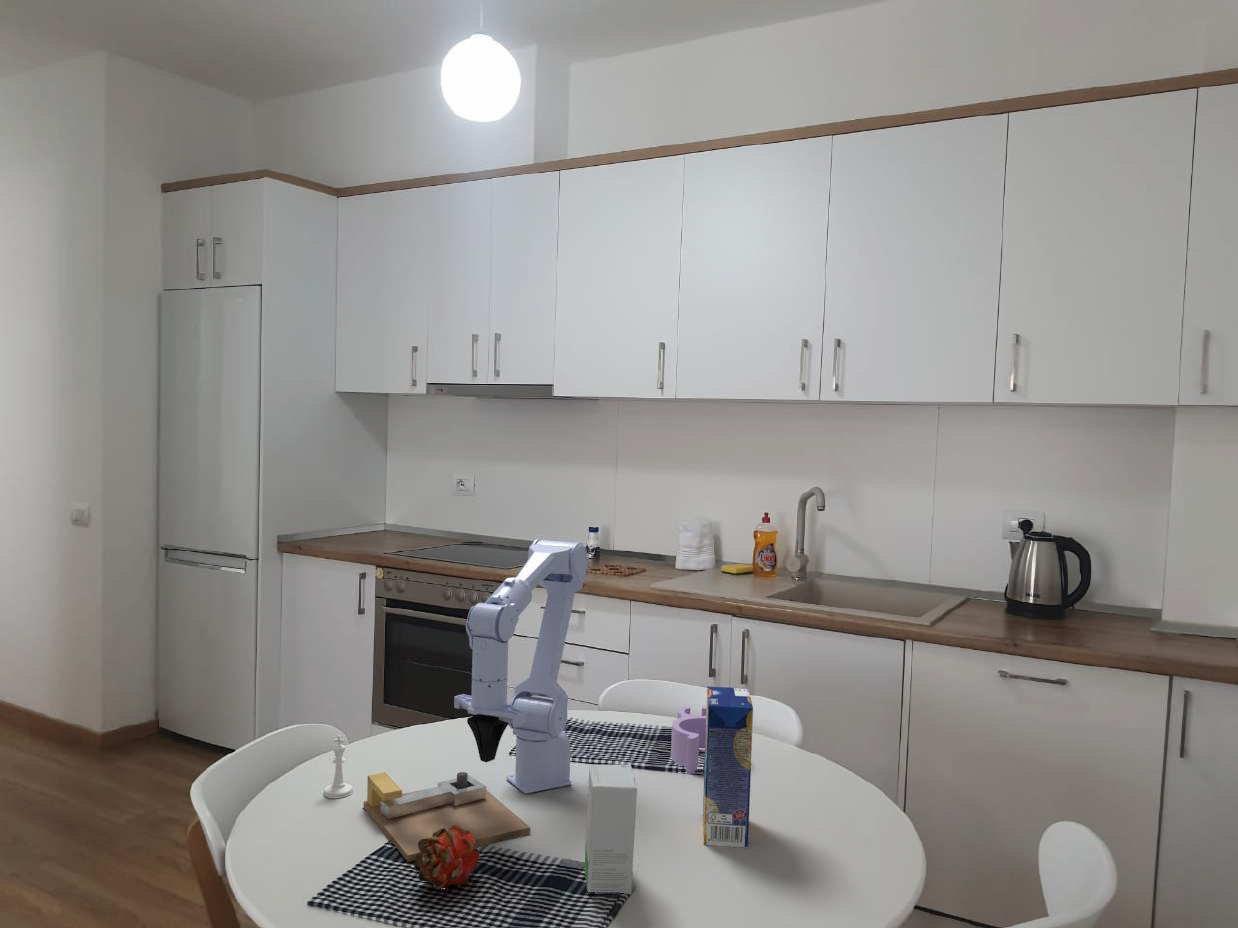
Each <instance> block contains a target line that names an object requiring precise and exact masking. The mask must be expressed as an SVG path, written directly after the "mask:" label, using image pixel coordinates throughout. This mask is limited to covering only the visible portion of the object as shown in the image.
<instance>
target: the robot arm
mask: <svg viewBox="0 0 1238 928" xmlns="http://www.w3.org/2000/svg"><path fill="white" fill-rule="evenodd" d="M527 552H528V555H527V561H526V562H525V564H524V565H523V567H522V569H520V571H519V572H518V574H517V575H516V576H515V577H506V579H504V580H503V582H502V583H501V584H500V585H499V586H498V588H497V589H496V590H495V591H493V593H492V594H491V595H490V596H489V598H488V599H486V601H485V602H477V604H476V605H473V606H471V608H470V609H469V610H468V611H469V612H468V614H467V619H466V622H465V631H466V634H467V635H468V640H469V641H468V645H469V648H470V649H472V656H471V657H472V660H471V661H472V663H471V665H472V666H471V667H472V668H471V695H469V694H464V693H462V694H458V695H456V696H454V699H453V700H454V702H453V706H454V707H453V708H455V709H457V710H459V709H464V710H466V711H467V714H471V715H472V716H470V717H468V718H466V720H467V721H466V723H467V725H468V726H469V729H471V732H472V734H473V737H474V739H475V743H476V747H477V751H478V755H479V759H480V762H484V763H489V762H491V761H494V760H496V756H497V751H498V748H499V745H500V742H501V739H502V737H503V735H504V733H505V731H506V729H507V727H509V729H512V735H514V736H515V739H516V740H515V743H516V744H515V773H514V774H511V775H507V776H506V780H507V781H508V782H510V783H511V785H514V787H515V788H518V790H520V792H522V793H523V794H531V793H536V792H541V791H545V790H546V791H547V790H551V789H554V788H560V787H565V786H569V785H572V780H570V778H571V777H570V776H571V775H570V772H571V743H570V740H569V737H568V735H567V733H566V732H565V731H564V730H565V727H566V724H567V720H568V702H569V696H568V694H567V692H566V691H565V690H564V689H563V688H562V686H561V685H560V684H559V683H558V677H559V673H560V672H559V671H560V667H561V662H562V658H563V652H564V649H565V644H566V639H567V634H568V630H569V625H570V624H569V623H570V619H571V616H572V615H571V614H572V610H573V605H574V602H575V601H574V600H575V595H576V593H577V592H579V591H580V590H582V589H583V587H584V582H585V578H586V574H587V569H588V566H589V565H588V564H589V559H588V558H589V557H588V552H587V548H586V546H585V545H584V543H583V542H580V541H577V542H571V541H558V540H548V539H546V540H545V539H542V538H537V539H535V540H534V541H533V542H532V543H531V544H530V546H529V547H528V551H527ZM538 585H539V586H540V587H542V588H544V589H545V590H546V592H547V597H546V601H545V606H544V610H543V615H542V619H541V623H540V624H541V625H540V628H539V633H538V638H537V642H536V647H535V651H534V655H533V660H532V665H531V668H530V675H529V676H528V678H526V679H524V680H523V681H521V682H520V683H518V684H516V685H515V687H514V690H513V694H512V697H511V699H510V700H509V702H508V667H509V664H508V663H509V640H511V638H512V637H513V636H514V633H515V630H516V627H517V624H518V623H519V617H520V615H521V614H522V612H524V610H525V609H526V608H527V607H529V605H530V603H531V602H532V599H533V592H532V591H533V590H534V589H535V588H536V587H537V586H538ZM543 697H544V698H543Z"/></svg>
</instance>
